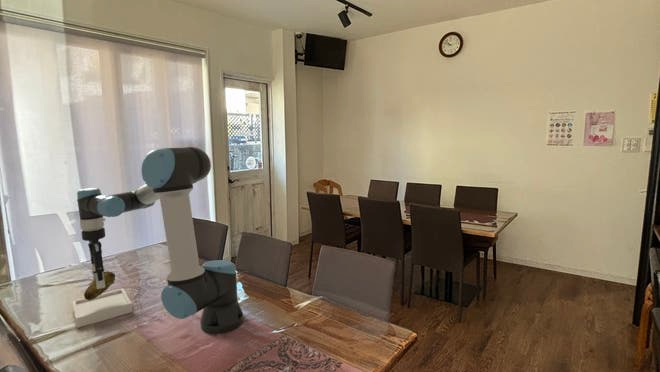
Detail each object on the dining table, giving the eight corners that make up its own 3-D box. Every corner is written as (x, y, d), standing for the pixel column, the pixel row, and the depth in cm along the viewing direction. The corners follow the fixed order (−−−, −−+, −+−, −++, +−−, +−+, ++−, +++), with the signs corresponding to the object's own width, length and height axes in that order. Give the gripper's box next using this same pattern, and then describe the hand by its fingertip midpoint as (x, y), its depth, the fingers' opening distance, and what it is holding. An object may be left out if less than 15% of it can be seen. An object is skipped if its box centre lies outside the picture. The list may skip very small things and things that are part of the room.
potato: (76, 298, 138) (74, 279, 137) (109, 285, 149) (108, 267, 148) (89, 304, 134) (87, 284, 133) (122, 290, 146) (121, 271, 144)
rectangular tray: (132, 312, 141) (131, 303, 141) (77, 327, 130) (75, 318, 130) (124, 296, 155) (123, 288, 155) (73, 309, 144) (72, 300, 144)
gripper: (108, 232, 132) (115, 290, 135) (100, 221, 149) (106, 272, 152) (84, 236, 127) (91, 296, 130) (78, 224, 144) (84, 277, 148)
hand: (99, 283), depth 141 cm, fingers closed on potato, 10 cm apart
